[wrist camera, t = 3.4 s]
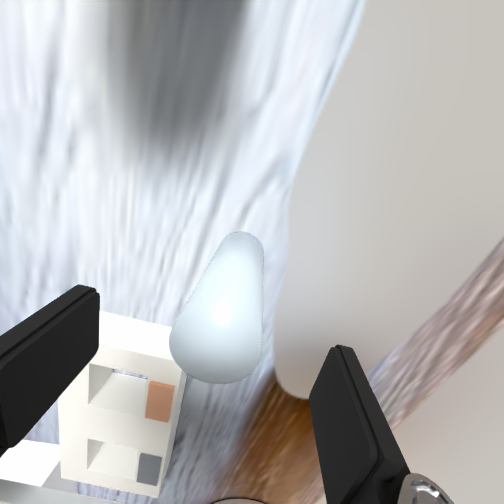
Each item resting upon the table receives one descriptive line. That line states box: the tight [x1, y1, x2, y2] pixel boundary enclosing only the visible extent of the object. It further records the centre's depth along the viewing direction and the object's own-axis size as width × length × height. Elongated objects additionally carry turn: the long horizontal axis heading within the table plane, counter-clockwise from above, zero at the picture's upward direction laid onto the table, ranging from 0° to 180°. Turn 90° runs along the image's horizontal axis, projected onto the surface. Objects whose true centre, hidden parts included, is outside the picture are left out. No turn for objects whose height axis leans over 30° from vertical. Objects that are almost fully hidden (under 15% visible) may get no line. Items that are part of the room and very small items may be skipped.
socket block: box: [58, 311, 187, 498], centre depth 26 cm, size 20×11×4 cm, turn 166°
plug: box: [169, 232, 264, 384], centre depth 16 cm, size 4×4×12 cm
